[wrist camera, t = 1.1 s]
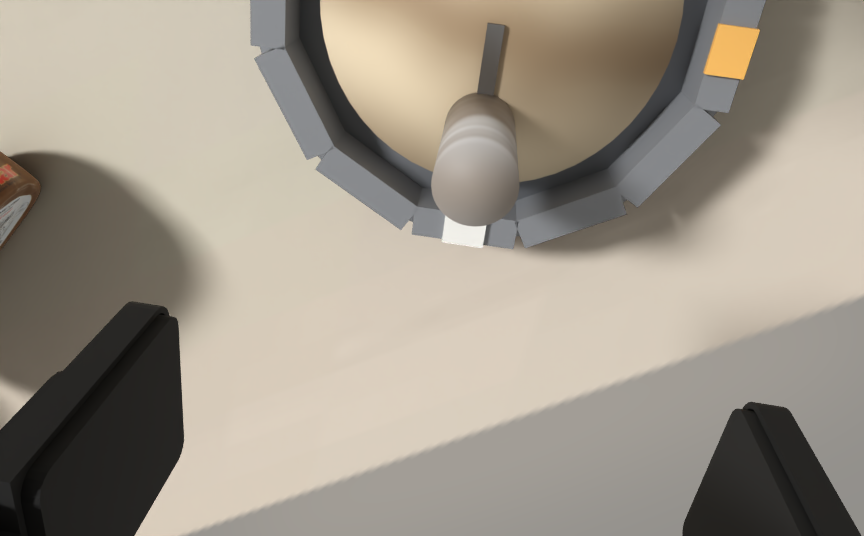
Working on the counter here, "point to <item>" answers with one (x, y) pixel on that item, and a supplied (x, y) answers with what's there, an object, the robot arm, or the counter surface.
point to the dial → (497, 84)
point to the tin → (14, 196)
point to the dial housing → (538, 199)
